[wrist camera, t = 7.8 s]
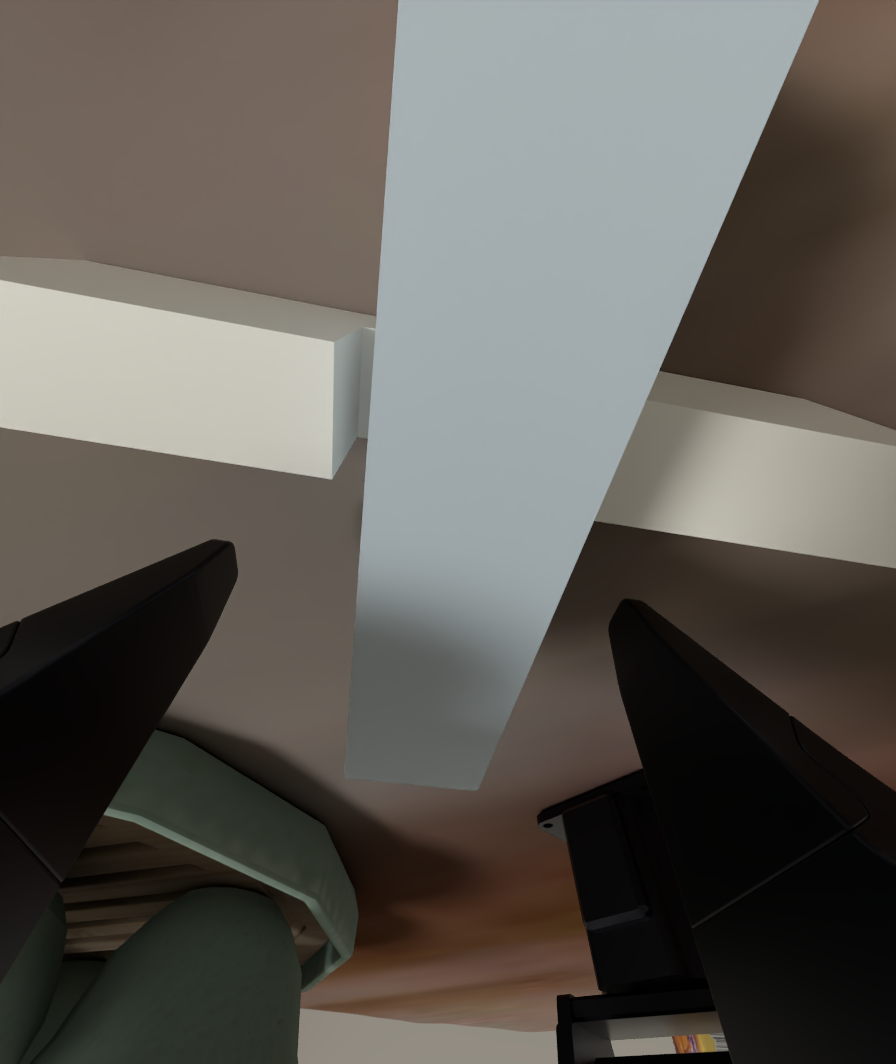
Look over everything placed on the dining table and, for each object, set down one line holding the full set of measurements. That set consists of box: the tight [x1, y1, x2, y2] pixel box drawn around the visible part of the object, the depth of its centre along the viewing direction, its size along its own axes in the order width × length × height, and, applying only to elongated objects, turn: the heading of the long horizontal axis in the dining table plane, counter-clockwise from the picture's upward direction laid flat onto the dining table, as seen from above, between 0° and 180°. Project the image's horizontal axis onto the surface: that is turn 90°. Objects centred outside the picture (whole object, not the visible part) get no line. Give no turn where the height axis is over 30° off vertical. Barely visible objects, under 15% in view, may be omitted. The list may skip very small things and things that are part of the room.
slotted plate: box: [344, 0, 819, 791], centre depth 7 cm, size 12×2×6 cm, turn 170°
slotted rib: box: [0, 256, 896, 568], centre depth 8 cm, size 16×2×4 cm, turn 80°
